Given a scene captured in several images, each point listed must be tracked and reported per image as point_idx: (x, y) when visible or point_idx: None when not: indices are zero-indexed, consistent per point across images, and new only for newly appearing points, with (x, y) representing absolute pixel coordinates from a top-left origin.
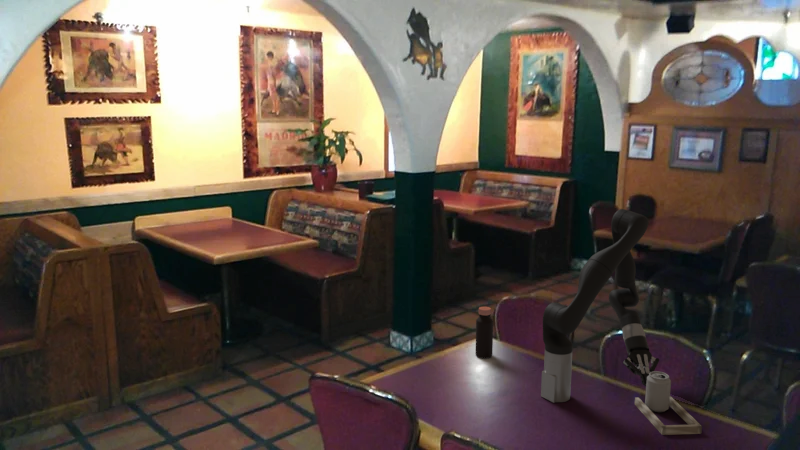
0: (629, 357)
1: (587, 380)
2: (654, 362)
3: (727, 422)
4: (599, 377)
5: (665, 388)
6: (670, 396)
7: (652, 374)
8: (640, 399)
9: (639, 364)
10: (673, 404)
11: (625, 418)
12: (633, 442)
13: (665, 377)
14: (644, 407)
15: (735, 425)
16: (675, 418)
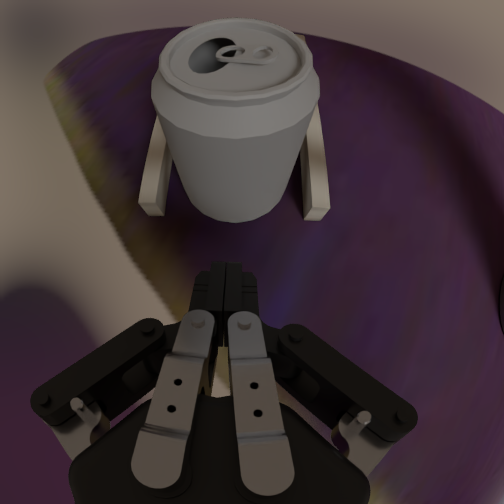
0: (360, 470)
1: (414, 452)
2: (87, 384)
3: (74, 98)
4: None
5: (227, 55)
6: (140, 201)
7: (273, 82)
8: (311, 185)
9: (273, 374)
10: (166, 151)
11: (381, 133)
12: (377, 53)
13: (196, 46)
14: (319, 122)
15: (70, 88)
16: None
